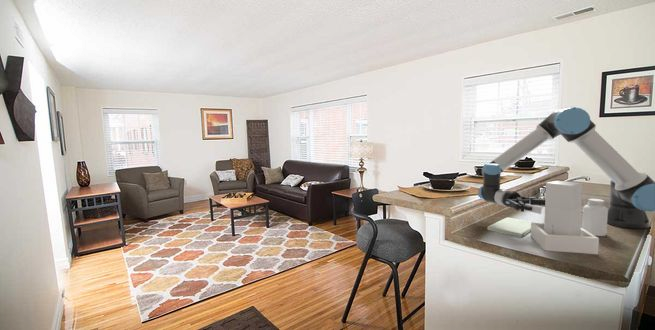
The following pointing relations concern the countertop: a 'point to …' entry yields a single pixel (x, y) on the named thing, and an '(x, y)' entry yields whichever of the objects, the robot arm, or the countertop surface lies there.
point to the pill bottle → (595, 217)
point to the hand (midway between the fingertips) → (553, 208)
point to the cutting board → (512, 226)
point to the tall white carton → (563, 208)
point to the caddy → (565, 241)
